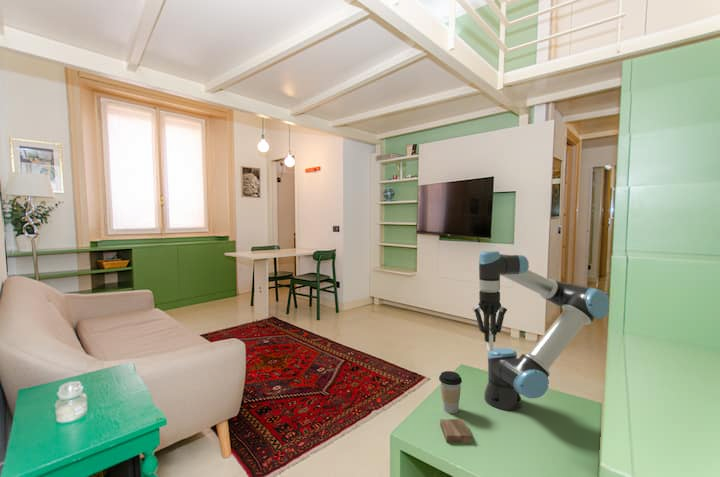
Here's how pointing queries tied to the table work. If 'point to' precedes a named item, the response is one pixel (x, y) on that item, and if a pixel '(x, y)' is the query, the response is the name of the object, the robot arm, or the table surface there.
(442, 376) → the coffee cup
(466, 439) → the wooden block
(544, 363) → the robot arm
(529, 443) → the table surface
